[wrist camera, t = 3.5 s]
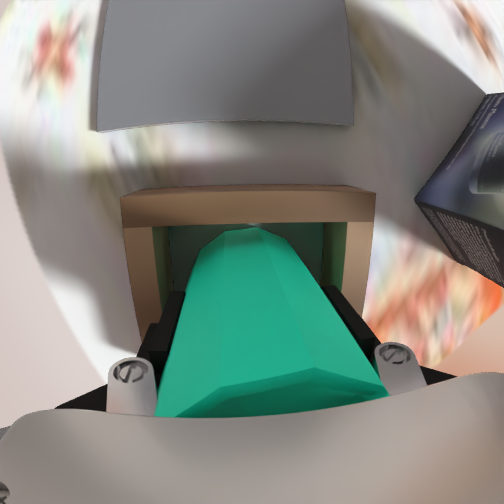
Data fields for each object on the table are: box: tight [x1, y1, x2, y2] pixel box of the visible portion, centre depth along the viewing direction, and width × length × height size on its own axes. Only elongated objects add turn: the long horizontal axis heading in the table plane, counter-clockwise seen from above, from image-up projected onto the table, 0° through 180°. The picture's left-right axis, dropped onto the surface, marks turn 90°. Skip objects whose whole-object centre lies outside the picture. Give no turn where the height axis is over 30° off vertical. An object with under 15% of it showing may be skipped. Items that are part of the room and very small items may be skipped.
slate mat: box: [97, 0, 354, 133], centre depth 11 cm, size 12×12×1 cm
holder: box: [120, 184, 376, 342], centre depth 14 cm, size 10×10×3 cm
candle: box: [154, 227, 390, 418], centre depth 9 cm, size 6×6×12 cm
